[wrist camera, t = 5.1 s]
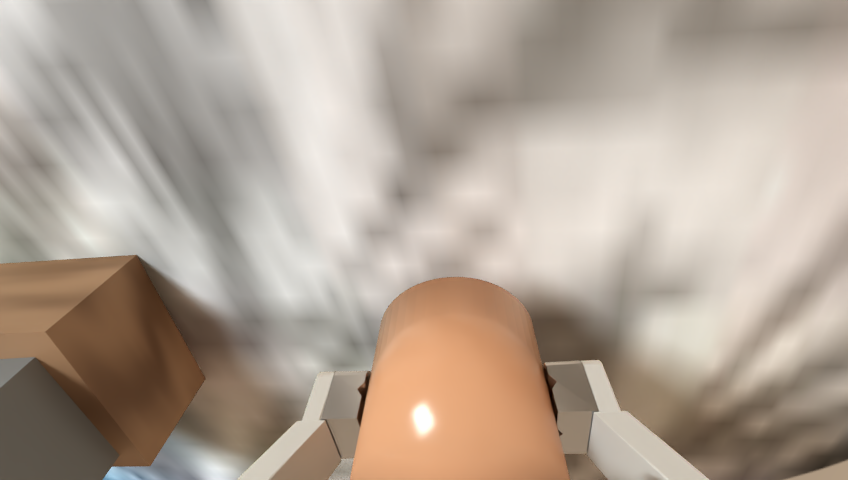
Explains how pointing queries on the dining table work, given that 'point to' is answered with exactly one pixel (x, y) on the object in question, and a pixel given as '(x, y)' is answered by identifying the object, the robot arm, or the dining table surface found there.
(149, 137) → the dining table surface
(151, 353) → the tower base
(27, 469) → the tower top
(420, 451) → the terracotta cylinder
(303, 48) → the dining table surface
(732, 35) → the dining table surface
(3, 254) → the dining table surface
